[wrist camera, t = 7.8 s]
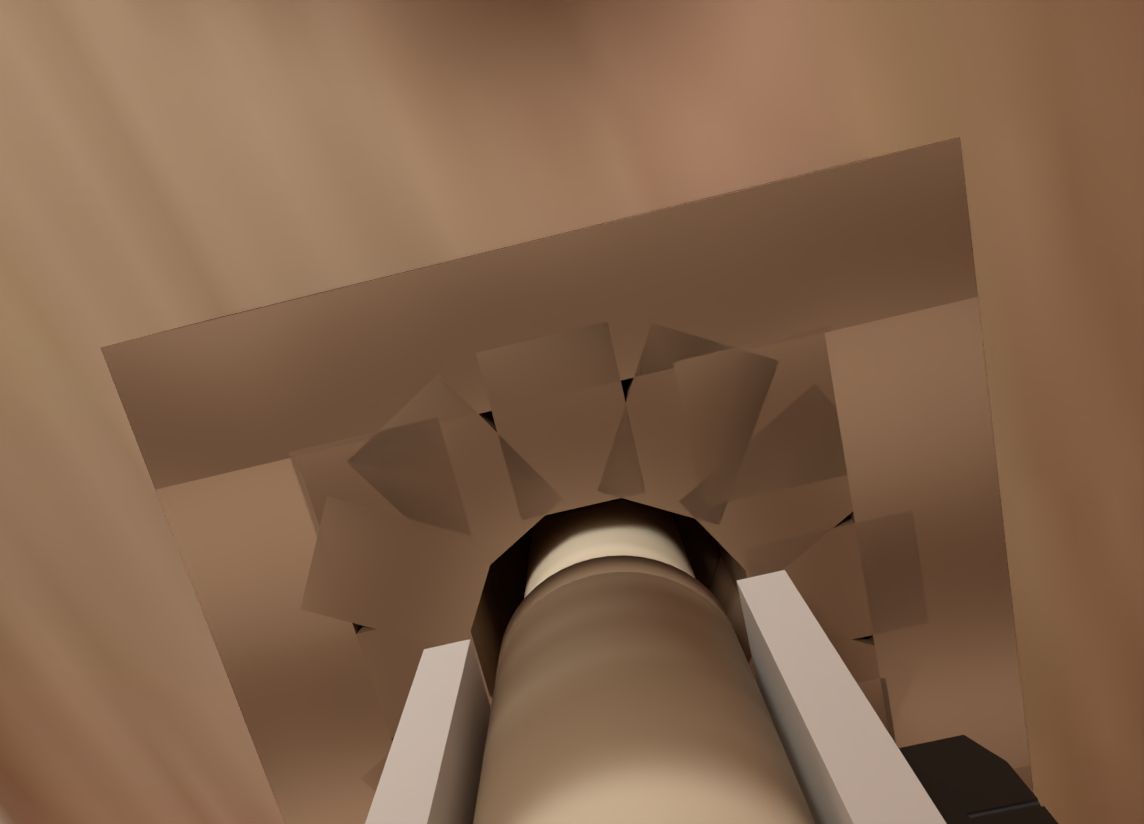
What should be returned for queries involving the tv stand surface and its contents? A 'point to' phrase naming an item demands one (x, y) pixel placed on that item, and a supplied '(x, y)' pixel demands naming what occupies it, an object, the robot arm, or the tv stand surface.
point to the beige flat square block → (598, 454)
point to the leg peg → (627, 689)
